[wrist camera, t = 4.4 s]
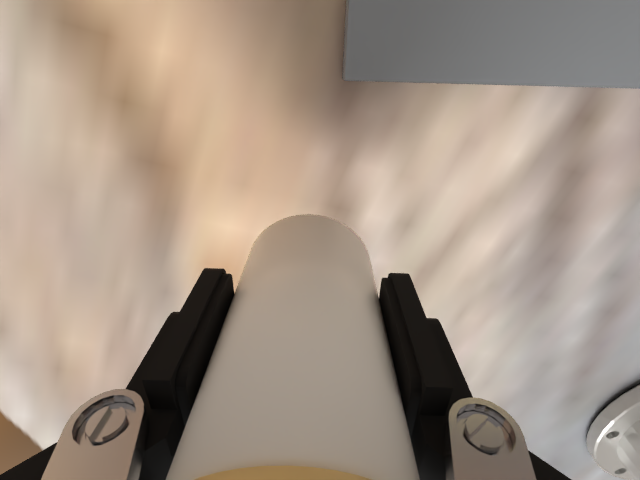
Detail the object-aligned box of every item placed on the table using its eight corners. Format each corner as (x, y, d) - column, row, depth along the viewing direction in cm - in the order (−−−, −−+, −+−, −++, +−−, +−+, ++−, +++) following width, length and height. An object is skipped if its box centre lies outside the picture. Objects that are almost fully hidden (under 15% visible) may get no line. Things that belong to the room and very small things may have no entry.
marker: (379, 213, 11) (694, 1099, 2) (367, 321, 14) (477, 984, 4) (240, 209, 11) (-232, 1091, 2) (250, 318, 14) (66, 977, 4)
